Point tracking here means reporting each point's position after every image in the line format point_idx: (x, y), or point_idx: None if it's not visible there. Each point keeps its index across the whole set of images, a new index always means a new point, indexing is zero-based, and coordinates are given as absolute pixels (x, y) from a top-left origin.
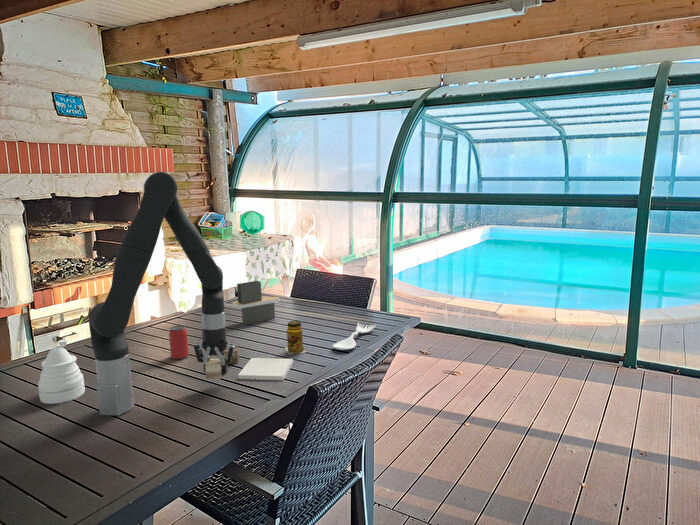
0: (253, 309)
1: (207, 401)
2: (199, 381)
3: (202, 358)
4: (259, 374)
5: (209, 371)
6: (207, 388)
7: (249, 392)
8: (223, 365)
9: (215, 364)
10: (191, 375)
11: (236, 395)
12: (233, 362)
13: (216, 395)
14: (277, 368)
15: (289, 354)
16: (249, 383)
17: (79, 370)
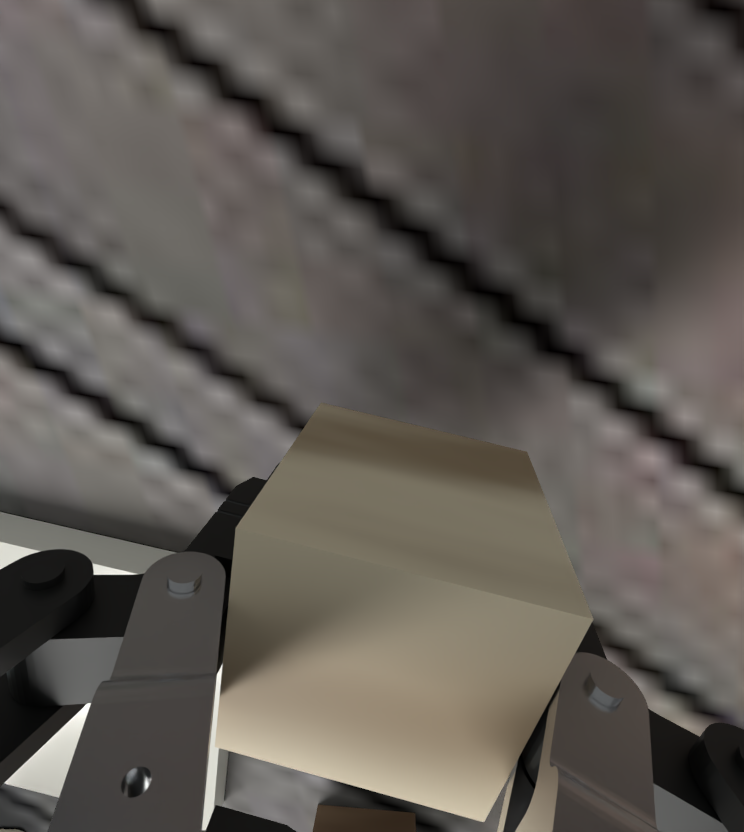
0: None
1: (455, 80)
2: (589, 585)
3: (686, 829)
4: None
5: (477, 493)
6: (496, 430)
7: (58, 279)
8: (217, 563)
9: (337, 551)
10: (669, 703)
11: (163, 220)
12: (347, 815)
13: (375, 246)
14: None
15: (13, 829)
16: (125, 472)
17: None
